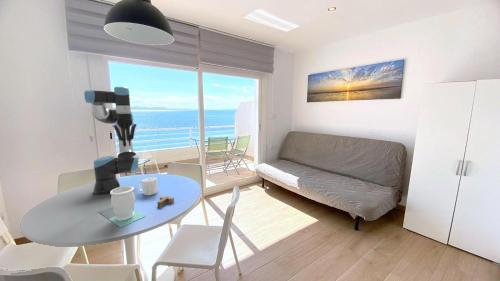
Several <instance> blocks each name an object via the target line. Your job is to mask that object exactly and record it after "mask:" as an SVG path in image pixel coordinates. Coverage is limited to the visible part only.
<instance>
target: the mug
mask: <svg viewBox="0 0 500 281" xmlns="http://www.w3.org/2000/svg"><path fill="white" fill-rule="evenodd" d="M141 183H142V188H141ZM158 185H159V184H158V178H157V177H155V176H154V177H153V176H150V177H146V178H143V179H142V180H141V181H139V183H138V186H137V190H138V191H139V192H142V194H143V195H144V196H152V195H156V194H158V192H159V186H158Z"/></svg>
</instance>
